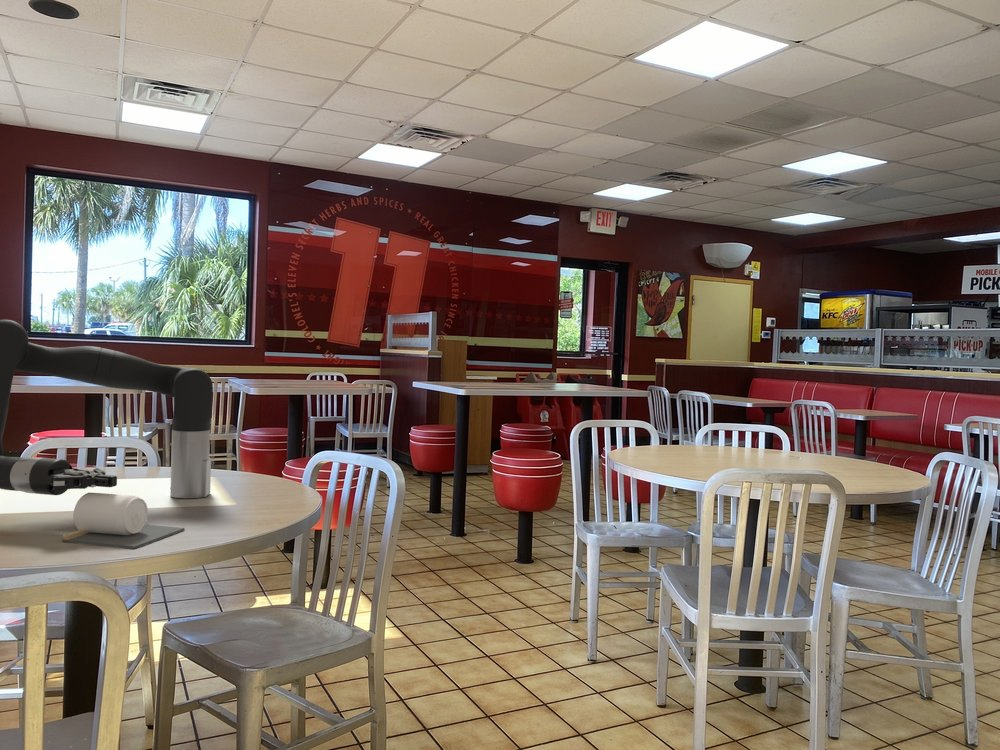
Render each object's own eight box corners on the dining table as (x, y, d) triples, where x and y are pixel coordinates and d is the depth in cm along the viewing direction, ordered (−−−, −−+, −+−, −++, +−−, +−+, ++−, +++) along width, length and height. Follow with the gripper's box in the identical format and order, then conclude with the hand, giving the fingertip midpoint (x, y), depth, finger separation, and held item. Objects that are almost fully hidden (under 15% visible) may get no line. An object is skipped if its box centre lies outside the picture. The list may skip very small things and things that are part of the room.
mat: (62, 541, 150) (62, 535, 150) (118, 524, 166) (118, 518, 166) (134, 548, 147) (134, 542, 147) (184, 530, 163) (184, 524, 163)
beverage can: (93, 484, 160) (143, 488, 157) (103, 517, 163) (153, 520, 161) (65, 506, 153) (118, 510, 150) (77, 539, 156) (129, 544, 153)
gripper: (16, 462, 153) (91, 468, 150) (65, 454, 166) (136, 459, 163) (15, 499, 154) (91, 506, 150) (65, 488, 167) (135, 494, 163)
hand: (114, 481), depth 157 cm, fingers closed
